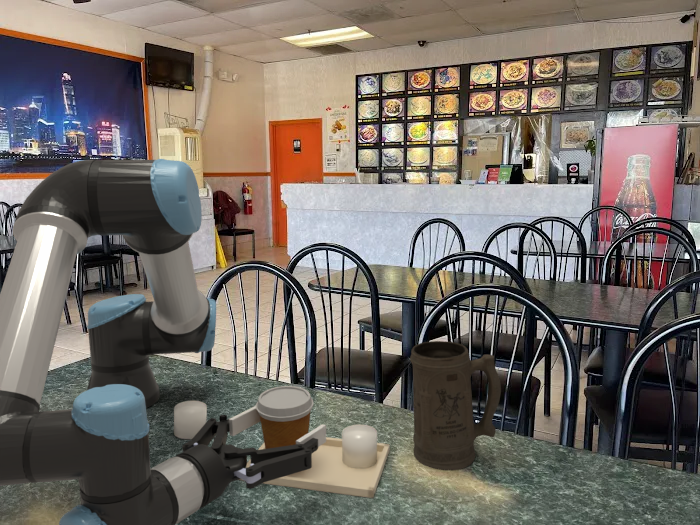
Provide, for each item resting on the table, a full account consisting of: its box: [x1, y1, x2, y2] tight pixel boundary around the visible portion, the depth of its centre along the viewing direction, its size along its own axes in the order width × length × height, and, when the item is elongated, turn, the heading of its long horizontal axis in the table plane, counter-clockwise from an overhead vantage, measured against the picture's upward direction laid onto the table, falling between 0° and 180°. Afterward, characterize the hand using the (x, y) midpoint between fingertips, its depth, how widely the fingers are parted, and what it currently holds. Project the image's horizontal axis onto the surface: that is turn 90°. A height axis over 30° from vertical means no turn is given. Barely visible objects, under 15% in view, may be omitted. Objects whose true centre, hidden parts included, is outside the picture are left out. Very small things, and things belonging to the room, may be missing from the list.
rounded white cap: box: [173, 400, 208, 440], centre depth 105 cm, size 6×6×5 cm
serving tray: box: [239, 436, 391, 499], centre depth 93 cm, size 15×22×2 cm
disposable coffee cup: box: [255, 385, 315, 449], centre depth 92 cm, size 10×10×12 cm
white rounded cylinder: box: [341, 424, 378, 469], centre depth 94 cm, size 6×6×5 cm
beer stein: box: [409, 340, 502, 471], centre depth 95 cm, size 15×11×20 cm
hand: (290, 422), depth 89 cm, fingers open, 13 cm apart
